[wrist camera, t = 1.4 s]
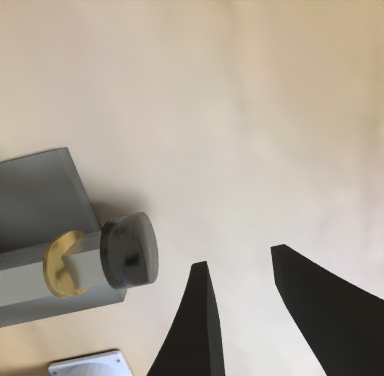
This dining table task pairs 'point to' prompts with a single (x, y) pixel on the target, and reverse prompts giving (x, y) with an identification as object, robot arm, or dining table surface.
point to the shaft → (82, 262)
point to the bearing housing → (46, 226)
